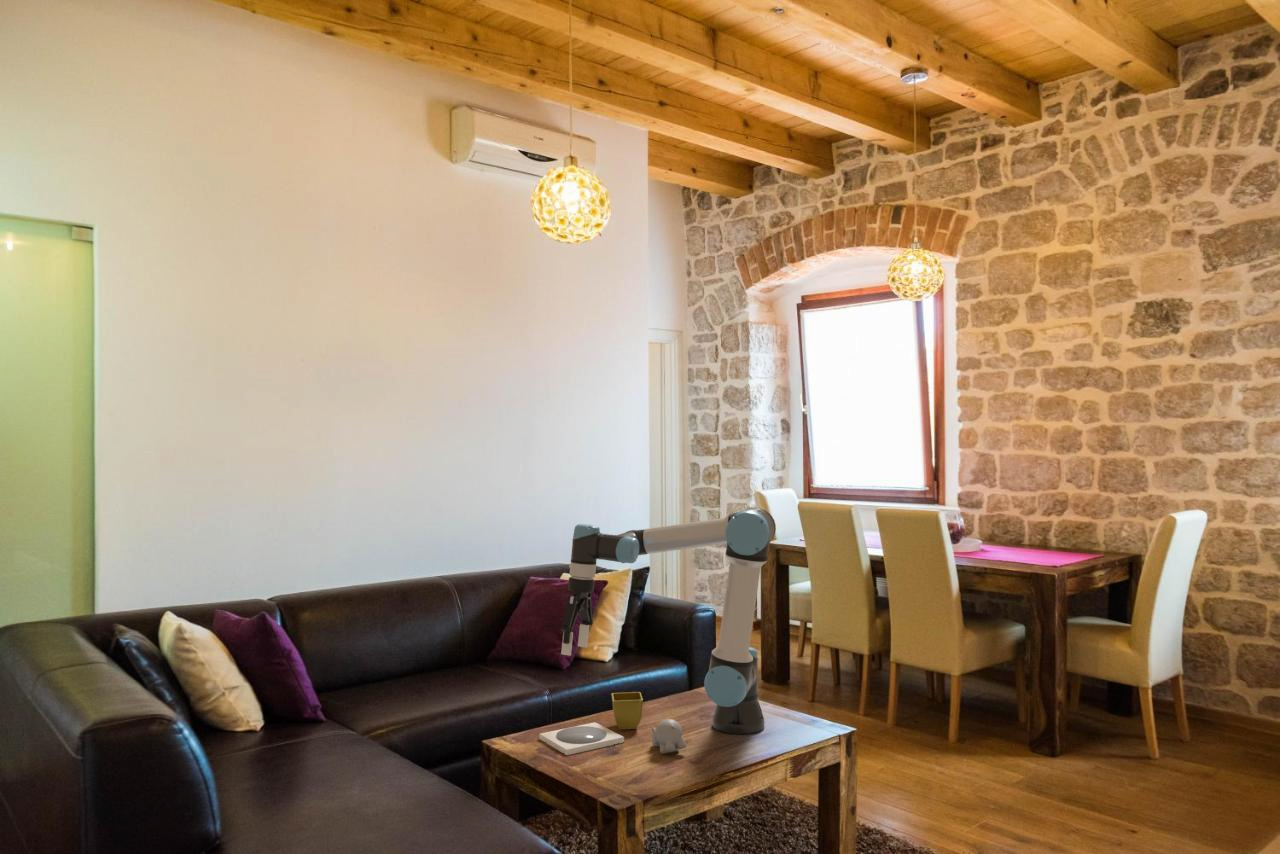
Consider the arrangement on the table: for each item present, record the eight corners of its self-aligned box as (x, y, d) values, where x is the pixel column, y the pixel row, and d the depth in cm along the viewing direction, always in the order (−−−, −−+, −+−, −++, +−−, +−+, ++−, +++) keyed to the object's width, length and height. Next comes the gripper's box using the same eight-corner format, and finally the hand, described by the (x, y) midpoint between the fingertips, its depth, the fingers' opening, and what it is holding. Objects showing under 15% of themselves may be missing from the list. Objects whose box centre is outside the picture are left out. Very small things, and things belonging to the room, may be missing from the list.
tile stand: (623, 742, 247) (623, 735, 247) (566, 755, 238) (566, 748, 238) (595, 727, 261) (595, 721, 261) (539, 739, 251) (539, 732, 251)
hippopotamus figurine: (668, 753, 246) (662, 721, 249) (691, 748, 236) (684, 715, 239) (646, 757, 242) (640, 725, 245) (668, 752, 233) (661, 719, 236)
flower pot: (611, 723, 265) (611, 692, 265) (640, 721, 266) (640, 691, 266) (613, 732, 256) (612, 701, 256) (643, 731, 257) (643, 699, 257)
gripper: (584, 572, 273) (577, 641, 272) (554, 579, 249) (546, 656, 249) (607, 575, 271) (600, 645, 270) (579, 583, 247) (571, 660, 246)
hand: (574, 650), depth 259 cm, fingers open, 13 cm apart
